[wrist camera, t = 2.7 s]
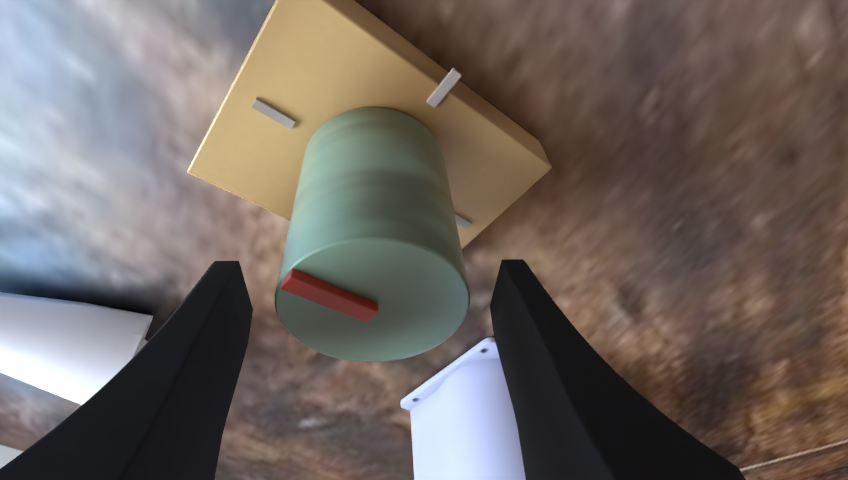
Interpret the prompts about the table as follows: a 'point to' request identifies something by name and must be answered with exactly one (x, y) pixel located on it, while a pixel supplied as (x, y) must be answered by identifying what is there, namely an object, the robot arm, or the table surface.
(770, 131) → the table surface
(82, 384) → the woman figurine
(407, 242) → the mint green cylinder
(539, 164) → the tan flat wooden board
